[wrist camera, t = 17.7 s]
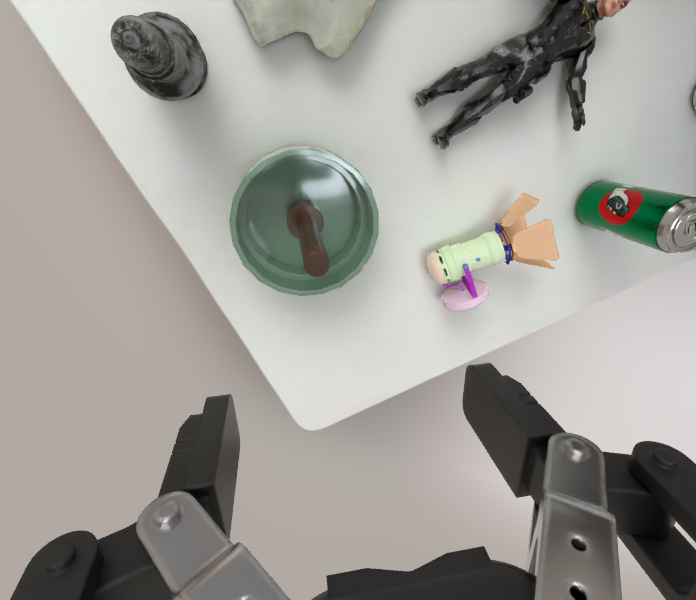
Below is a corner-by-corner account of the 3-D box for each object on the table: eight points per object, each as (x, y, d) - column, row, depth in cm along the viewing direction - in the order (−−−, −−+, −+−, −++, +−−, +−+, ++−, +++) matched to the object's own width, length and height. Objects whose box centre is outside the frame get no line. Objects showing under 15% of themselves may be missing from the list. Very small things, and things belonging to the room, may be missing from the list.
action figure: (391, 28, 32) (623, -135, 30) (381, 37, 36) (586, -107, 33) (469, 200, 39) (663, 82, 37) (454, 192, 43) (629, 84, 40)
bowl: (227, 148, 37) (218, 153, 32) (364, 142, 39) (378, 145, 33) (246, 278, 42) (242, 301, 37) (366, 268, 44) (378, 288, 39)
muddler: (284, 200, 39) (288, 242, 26) (319, 197, 40) (341, 238, 26) (288, 233, 41) (293, 290, 27) (321, 231, 41) (343, 285, 28)
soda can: (573, 230, 46) (662, 263, 36) (573, 187, 44) (668, 208, 33) (613, 217, 47) (714, 247, 36) (615, 174, 44) (724, 191, 34)
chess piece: (179, 6, 32) (129, -51, 21) (225, 78, 35) (201, 59, 24) (121, 48, 33) (43, 13, 22) (170, 116, 35) (123, 114, 24)
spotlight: (517, 189, 43) (547, 203, 36) (534, 258, 46) (564, 282, 40) (412, 231, 46) (422, 251, 39) (435, 293, 49) (447, 322, 42)
